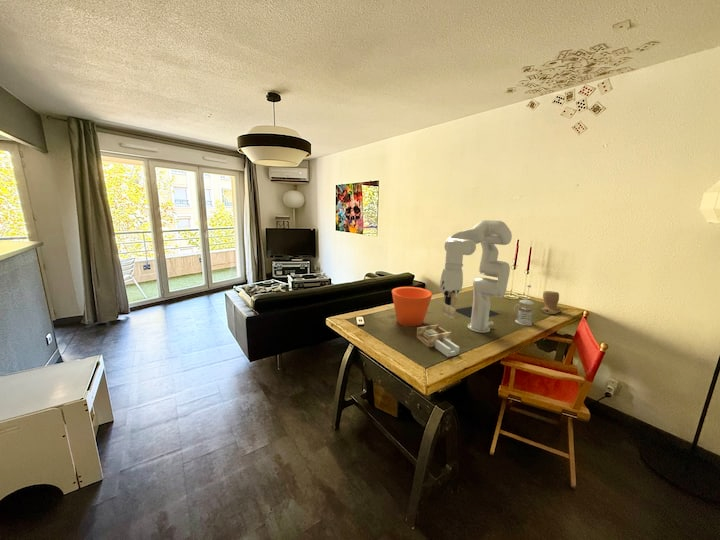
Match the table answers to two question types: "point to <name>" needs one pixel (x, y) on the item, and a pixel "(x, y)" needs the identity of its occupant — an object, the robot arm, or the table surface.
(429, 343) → the rack
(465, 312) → the tablet
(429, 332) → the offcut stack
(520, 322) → the french press
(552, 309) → the stone cup
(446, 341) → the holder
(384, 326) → the table surface
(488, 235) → the robot arm
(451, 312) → the wooden board
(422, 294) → the flowerpot
